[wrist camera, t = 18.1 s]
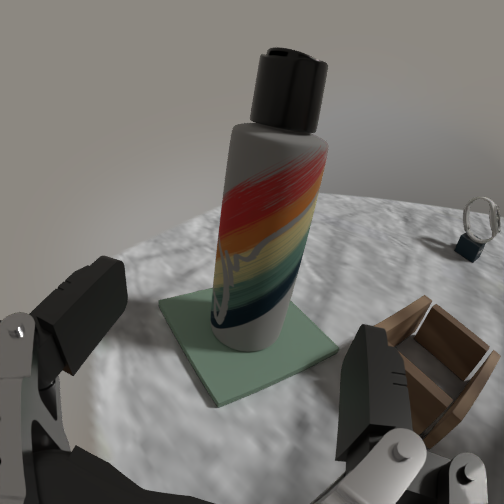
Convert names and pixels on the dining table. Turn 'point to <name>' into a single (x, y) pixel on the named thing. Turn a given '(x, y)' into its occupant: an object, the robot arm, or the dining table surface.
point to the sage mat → (240, 362)
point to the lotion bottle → (268, 200)
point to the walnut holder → (450, 354)
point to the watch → (470, 243)
